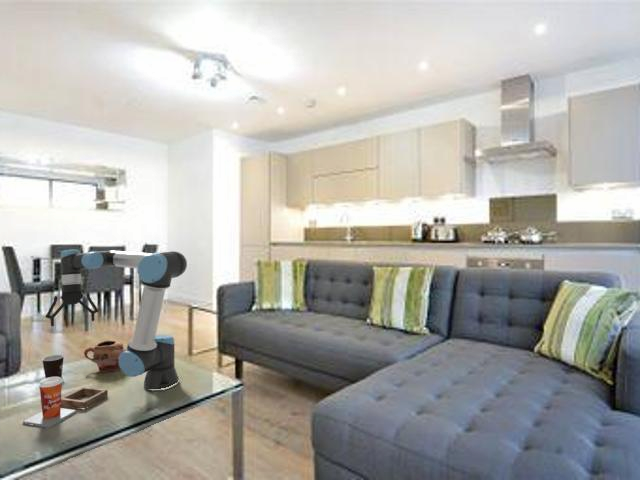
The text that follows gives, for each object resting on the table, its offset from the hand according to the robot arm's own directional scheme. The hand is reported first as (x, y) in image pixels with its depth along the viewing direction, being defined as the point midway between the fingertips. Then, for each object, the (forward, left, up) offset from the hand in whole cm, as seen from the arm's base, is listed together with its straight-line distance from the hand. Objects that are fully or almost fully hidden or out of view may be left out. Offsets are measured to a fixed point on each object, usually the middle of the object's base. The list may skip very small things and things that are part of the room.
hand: (73, 331), depth 178 cm
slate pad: (-13, +24, -27) cm, 38 cm away
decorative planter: (+4, -23, -27) cm, 35 cm away
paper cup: (-14, +24, -26) cm, 38 cm away
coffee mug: (+20, -9, -27) cm, 34 cm away
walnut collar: (-14, +9, -27) cm, 32 cm away
